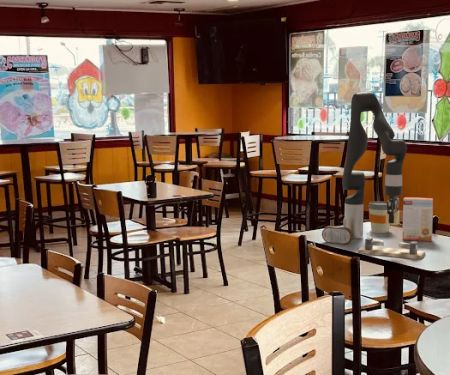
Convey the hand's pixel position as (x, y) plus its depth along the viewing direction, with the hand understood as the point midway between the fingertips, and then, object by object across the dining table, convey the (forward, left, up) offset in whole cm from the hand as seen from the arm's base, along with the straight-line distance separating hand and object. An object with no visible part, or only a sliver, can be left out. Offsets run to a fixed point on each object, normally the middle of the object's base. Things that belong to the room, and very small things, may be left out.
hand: (392, 222), depth 312 cm
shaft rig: (0, 0, -15) cm, 15 cm away
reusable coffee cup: (-18, +51, -15) cm, 56 cm away
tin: (-29, +11, -15) cm, 34 cm away
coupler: (0, 0, -1) cm, 1 cm away
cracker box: (+4, +37, -15) cm, 40 cm away
